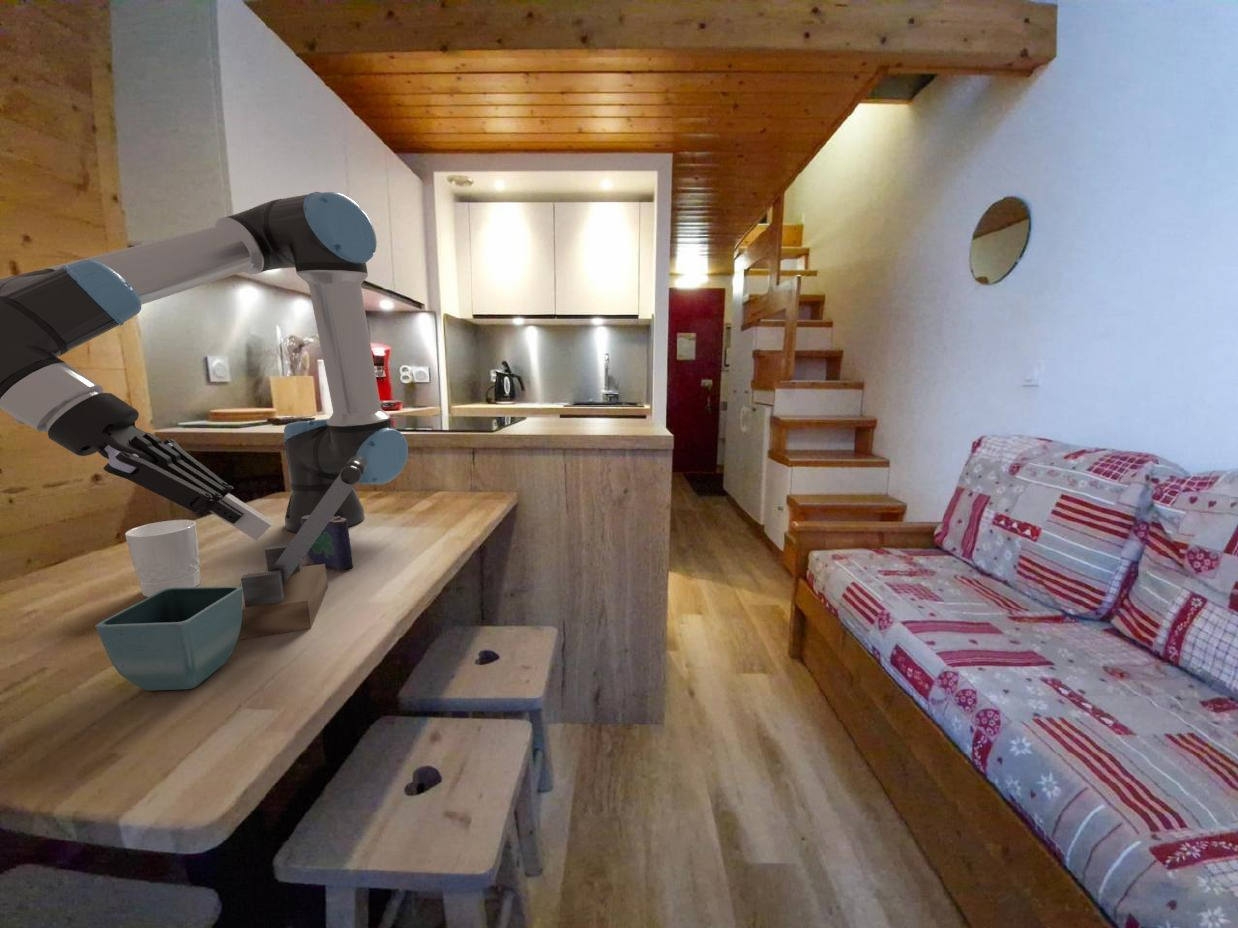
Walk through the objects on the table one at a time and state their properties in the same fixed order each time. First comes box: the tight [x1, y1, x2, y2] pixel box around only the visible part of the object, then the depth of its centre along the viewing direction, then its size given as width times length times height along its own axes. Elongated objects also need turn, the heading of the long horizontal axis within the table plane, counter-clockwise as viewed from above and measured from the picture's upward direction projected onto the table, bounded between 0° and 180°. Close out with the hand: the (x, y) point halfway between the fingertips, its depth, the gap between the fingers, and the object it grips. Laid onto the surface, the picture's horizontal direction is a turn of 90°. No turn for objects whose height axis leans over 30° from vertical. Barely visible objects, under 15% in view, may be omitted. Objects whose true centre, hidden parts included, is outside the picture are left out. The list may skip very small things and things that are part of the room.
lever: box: [269, 456, 367, 585], centre depth 68 cm, size 3×9×21 cm
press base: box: [237, 544, 329, 641], centre depth 68 cm, size 10×13×8 cm
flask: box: [301, 515, 354, 572], centre depth 84 cm, size 9×3×11 cm, turn 74°
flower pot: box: [95, 585, 243, 691], centre depth 54 cm, size 9×9×9 cm
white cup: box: [124, 519, 201, 598], centre depth 75 cm, size 8×8×10 cm
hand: (265, 531), depth 66 cm, fingers closed
